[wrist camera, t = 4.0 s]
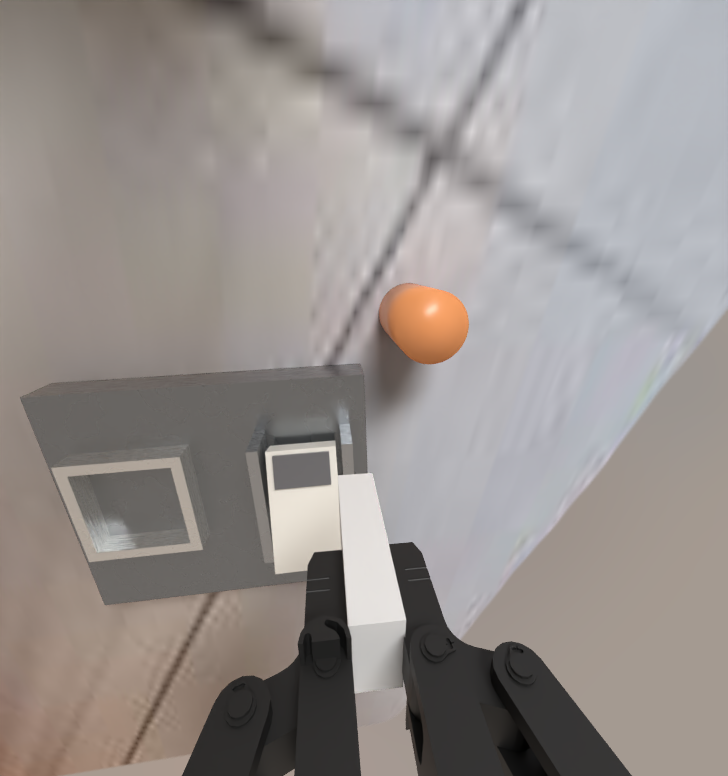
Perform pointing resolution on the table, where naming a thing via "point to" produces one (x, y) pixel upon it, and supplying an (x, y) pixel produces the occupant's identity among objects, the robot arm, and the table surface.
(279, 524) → the block
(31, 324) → the table surface
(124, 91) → the table surface
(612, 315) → the table surface
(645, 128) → the table surface
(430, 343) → the cap
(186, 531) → the breaker panel
